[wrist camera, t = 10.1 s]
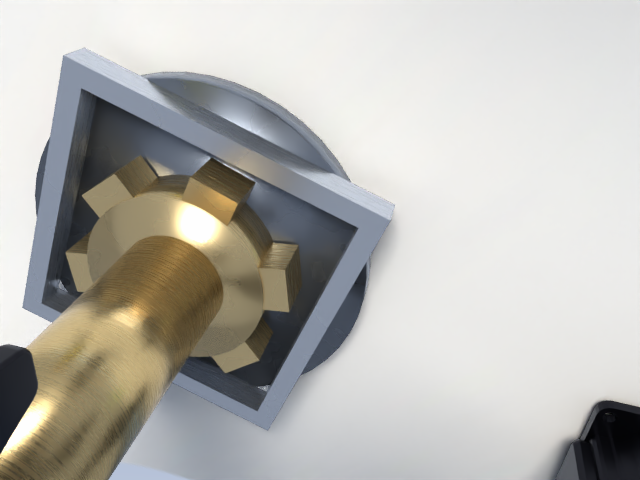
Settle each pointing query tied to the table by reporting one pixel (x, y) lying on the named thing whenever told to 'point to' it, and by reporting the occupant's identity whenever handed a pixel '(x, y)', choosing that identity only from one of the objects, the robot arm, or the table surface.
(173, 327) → the planet gear
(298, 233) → the carrier plate
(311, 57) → the table surface
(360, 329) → the table surface
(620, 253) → the table surface
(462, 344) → the table surface
